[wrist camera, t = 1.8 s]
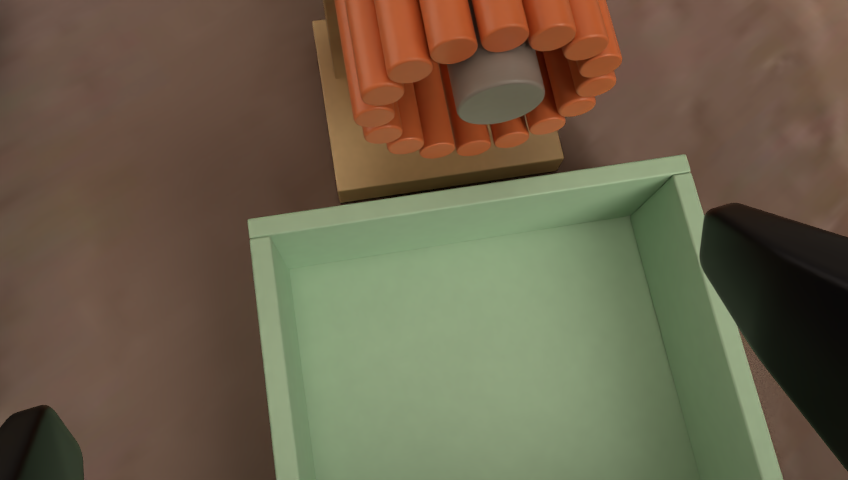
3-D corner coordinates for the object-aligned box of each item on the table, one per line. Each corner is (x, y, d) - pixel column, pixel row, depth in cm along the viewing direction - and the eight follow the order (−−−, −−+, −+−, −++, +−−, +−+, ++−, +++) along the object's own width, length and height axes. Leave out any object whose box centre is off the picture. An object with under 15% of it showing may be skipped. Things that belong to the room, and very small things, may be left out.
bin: (743, 595, 22) (830, 632, 18) (323, 685, 21) (305, 748, 16) (635, 202, 25) (686, 153, 21) (272, 259, 24) (246, 218, 20)
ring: (581, 140, 20) (666, 5, 14) (359, 172, 20) (345, 47, 13) (546, 5, 22) (610, -174, 15) (336, 31, 21) (314, -144, 15)
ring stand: (567, 216, 25) (743, -9, 13) (347, 250, 24) (303, 46, 12) (518, 13, 28) (626, -345, 15) (315, 38, 27) (251, -317, 14)
